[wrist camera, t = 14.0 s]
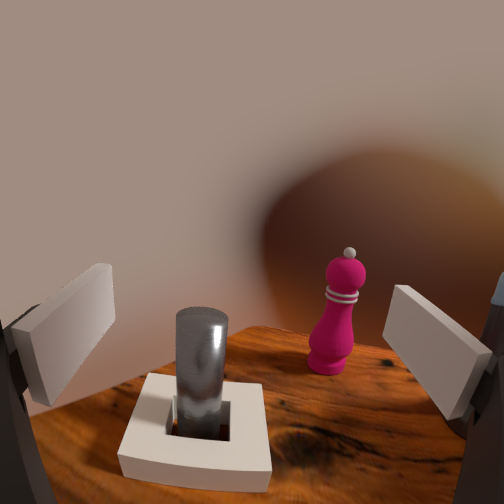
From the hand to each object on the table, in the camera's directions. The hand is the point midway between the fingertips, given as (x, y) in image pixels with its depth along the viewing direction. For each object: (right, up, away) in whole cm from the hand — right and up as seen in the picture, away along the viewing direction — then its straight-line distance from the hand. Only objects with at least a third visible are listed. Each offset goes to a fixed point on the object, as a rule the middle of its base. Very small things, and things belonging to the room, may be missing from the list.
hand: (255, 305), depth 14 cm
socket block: (-6, -19, +17) cm, 26 cm away
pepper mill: (+12, -17, +35) cm, 41 cm away
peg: (-6, -19, +16) cm, 26 cm away
